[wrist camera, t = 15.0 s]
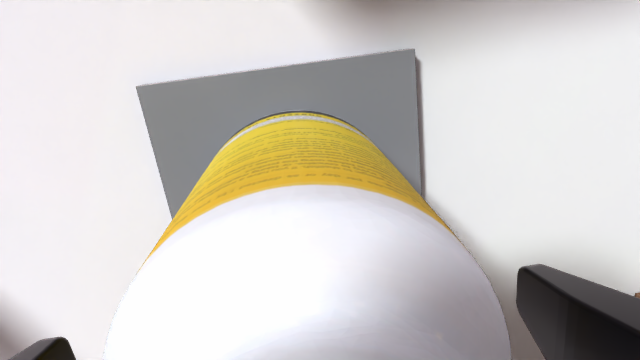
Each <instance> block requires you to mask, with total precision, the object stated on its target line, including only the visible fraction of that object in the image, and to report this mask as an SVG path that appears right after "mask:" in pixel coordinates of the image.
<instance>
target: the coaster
mask: <svg viewBox="0 0 640 360" xmlns="http://www.w3.org/2000/svg"><path fill="white" fill-rule="evenodd" d="M136 89H137V93H138V97H139V100H140V104H141V107H142V111H143V115H144V118H145V122H146V126H147V129H148V133H149V137H150V140H151V144H152V147H153V151H154V155H155V158H156V162H157V166H158V169H159V173H160V177H161V180H162V184H163V187H164V191H165V195H166V198H167V202H168V206H169V209H170V213H171V217H172V220H173V218H174V217H175V215H176V214H177V212H178V211H179V209H180V208H181V206H182V205H183V203H184V202H185V200H186V199H187V197H188V196H189V194H190V193H191V191H192V190H193V188H194V187H195V185H196V184H197V182H198V181H199V179H200V178H201V176H202V175H203V173H204V172H205V171H206V169H207V168H208V166H209V165H210V163H211V162H212V160H213V159H214V157H215V156H216V154H217V153H218V151H219V150H220V149H221V147H222V146H223V145H224V144H225V143H226V142H227V141H228V140H229V139H230V138H231V137H232V136H233V135H234V134H235V133H236V132H237V131H239V130H240V129H242V128H243V127H244V126H246V125H248V124H250V123H251V122H253V121H255V120H257V119H259V118H262V117H264V116H267V115H270V114H273V113H278V112H283V111H290V110H309V111H317V112H322V113H326V114H330V115H332V116H335V117H338V118H340V119H342V120H344V121H346V122H348V123H350V124H352V125H353V126H354V127H356V128H357V129H359V130H360V131H361V132H362V133H364V134H365V135H366V136H367V137H368V138H369V139H370V140H371V141H372V142H373V143H374V144H375V145H376V147H377V148H378V149H379V150H380V151H381V152H382V153H383V154H384V155H385V157H386V158H387V159H388V160H389V161H390V162H391V163H392V164H393V165H394V166H395V167H396V168H397V169H398V171H399V172H400V173H401V174H402V175H403V176H404V178H405V179H406V180H407V181H408V182H409V183H410V184H411V186H412V187H413V188H414V189H415V190H416V191H417V192H418V194H419V195H420V196H421V175H420V153H419V131H418V109H417V87H416V65H415V49H403V50H395V51H388V52H380V53H373V54H366V55H358V56H351V57H344V58H336V59H329V60H322V61H314V62H307V63H299V64H292V65H285V66H277V67H270V68H263V69H255V70H248V71H241V72H233V73H226V74H218V75H211V76H204V77H196V78H189V79H182V80H174V81H167V82H160V83H152V84H145V85H140V86H136Z"/></svg>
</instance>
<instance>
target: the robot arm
mask: <svg viewBox="0 0 640 360" xmlns="http://www.w3.org/2000/svg"><path fill="white" fill-rule="evenodd" d="M516 303H517V308H518V311H519V313H520V315H521V317H522V319H523V321H524V322H525V324H526V326H527V328H528V329H529V331H530V333H531V335H532V336H533V338H534V340H535V342H536V343H537V345H538V347H539V349H540V350H541V352H542V354H543V356H544V357H545V359H546V360H640V299H639V298H637V297H634V296H631V295H628V294H625V293H622V292H619V291H617V290H614V289H611V288H608V287H605V286H602V285H599V284H597V283H594V282H591V281H588V280H585V279H582V278H580V277H577V276H574V275H571V274H568V273H565V272H562V271H560V270H557V269H554V268H551V267H548V266H545V265H542V264H536V265H530V266H523V267H521V268H520V269H519V271H518V275H517V298H516ZM9 360H76V358H75V356H74V354H73V351H72V349H71V346H70V344H69V342H68V340H67V339H66V338H64V337H56V338H49V339H43V340H40V341H38V342H36V343H34V344H33V345H31V346H30V347H28V348H26V349H25V350H23V351H22V352H20V353H18V354H17V355H15V356H14V357H12V358H10V359H9Z"/></svg>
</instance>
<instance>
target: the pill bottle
mask: <svg viewBox="0 0 640 360" xmlns="http://www.w3.org/2000/svg"><path fill="white" fill-rule="evenodd" d="M103 360H511V346H510V339H509V334H508V329H507V325H506V321H505V318H504V315H503V311H502V308H501V306H500V303H499V301H498V298H497V296H496V294H495V292H494V290H493V288H492V286H491V284H490V282H489V280H488V278H487V277H486V275H485V273H484V272H483V270H482V269H481V267H480V266H479V265H478V263H477V262H476V260H475V259H474V258H473V256H472V255H471V254H470V253H469V251H468V250H467V249H466V248H465V246H464V245H463V244H462V243H461V242H460V240H459V239H458V238H457V237H456V236H455V234H454V233H453V232H452V231H451V230H450V228H449V227H448V226H447V225H446V224H445V223H444V222H443V221H442V219H441V218H440V217H439V216H438V215H437V214H436V213H435V212H434V211H433V209H432V208H431V207H430V206H429V205H428V204H427V203H426V202H425V200H424V199H423V198H422V197H421V196H420V195H419V194H418V192H417V191H416V190H415V189H414V188H413V187H412V186H411V184H410V183H409V182H408V181H407V180H406V179H405V178H404V176H403V175H402V174H401V173H400V172H399V171H398V169H397V168H396V167H395V166H394V165H393V164H392V163H391V162H390V161H389V160H388V159H387V158H386V157H385V155H384V154H383V153H382V152H381V151H380V150H379V149H378V148H377V147H376V145H375V144H374V143H373V142H372V141H371V140H370V139H369V138H368V137H367V136H366V135H365V134H364V133H362V132H361V131H360V130H359V129H357V128H356V127H354V126H353V125H352V124H350V123H348V122H346V121H344V120H342V119H340V118H338V117H335V116H332V115H330V114H326V113H322V112H317V111H309V110H290V111H283V112H278V113H273V114H270V115H267V116H264V117H262V118H259V119H257V120H255V121H253V122H251V123H250V124H248V125H246V126H244V127H243V128H242V129H240V130H239V131H237V132H236V133H235V134H234V135H233V136H232V137H231V138H230V139H229V140H228V141H227V142H226V143H225V144H224V145H223V146H222V147H221V149H220V150H219V151H218V153H217V154H216V156H215V157H214V159H213V160H212V162H211V163H210V165H209V166H208V168H207V169H206V171H205V172H204V173H203V175H202V176H201V178H200V179H199V181H198V182H197V184H196V185H195V187H194V188H193V190H192V191H191V193H190V194H189V196H188V197H187V199H186V200H185V202H184V203H183V205H182V206H181V208H180V209H179V211H178V212H177V214H176V215H175V217H174V218H173V220H172V221H171V223H170V224H169V226H168V227H167V229H166V230H165V232H164V233H163V235H162V236H161V238H160V240H159V241H158V243H157V244H156V246H155V247H154V249H153V250H152V252H151V253H150V255H149V256H148V258H147V259H146V260H145V262H144V263H143V265H142V266H141V268H140V269H139V271H138V272H137V274H136V276H135V277H134V279H133V281H132V282H131V284H130V286H129V287H128V289H127V291H126V293H125V294H124V296H123V298H122V300H121V301H120V304H119V306H118V308H117V310H116V312H115V315H114V317H113V320H112V323H111V327H110V330H109V333H108V336H107V339H106V344H105V349H104V355H103Z"/></svg>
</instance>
